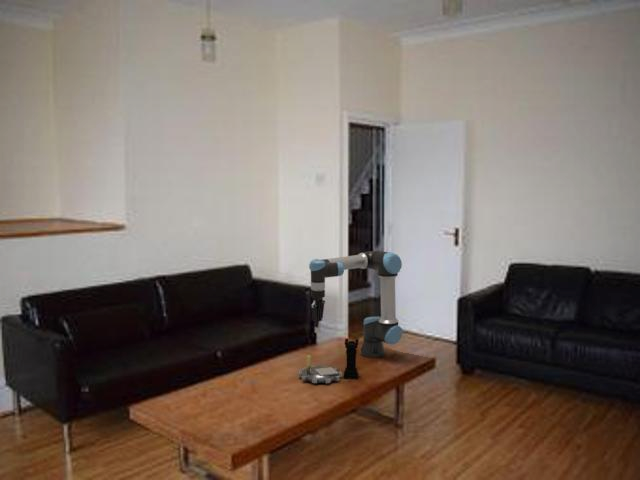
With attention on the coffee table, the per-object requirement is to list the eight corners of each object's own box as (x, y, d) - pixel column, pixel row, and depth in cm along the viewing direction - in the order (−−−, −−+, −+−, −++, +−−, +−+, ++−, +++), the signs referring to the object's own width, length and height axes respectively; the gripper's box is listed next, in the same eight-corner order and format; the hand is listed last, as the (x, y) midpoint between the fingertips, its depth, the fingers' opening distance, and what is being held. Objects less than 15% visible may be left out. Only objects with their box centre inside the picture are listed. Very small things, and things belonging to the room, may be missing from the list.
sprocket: (293, 371, 316) (293, 350, 315) (331, 367, 324) (332, 346, 323) (307, 385, 295) (307, 362, 294) (348, 380, 303) (348, 358, 302)
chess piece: (358, 374, 316) (359, 338, 314) (358, 379, 308) (358, 343, 306) (343, 373, 317) (344, 338, 315) (343, 378, 309) (343, 342, 307)
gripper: (317, 286, 315) (317, 329, 317) (305, 291, 303) (305, 334, 306) (329, 288, 311) (329, 330, 314) (318, 292, 300) (318, 336, 302)
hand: (317, 332), depth 310 cm, fingers closed
